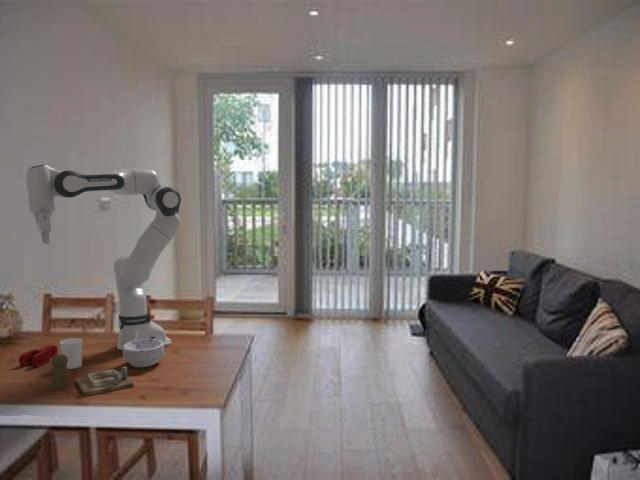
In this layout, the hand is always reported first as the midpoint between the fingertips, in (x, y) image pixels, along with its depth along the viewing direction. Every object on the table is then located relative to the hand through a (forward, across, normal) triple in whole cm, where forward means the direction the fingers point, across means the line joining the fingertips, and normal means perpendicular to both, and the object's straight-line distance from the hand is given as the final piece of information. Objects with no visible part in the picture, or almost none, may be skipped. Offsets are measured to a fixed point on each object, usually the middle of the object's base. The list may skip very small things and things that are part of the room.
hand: (46, 243), depth 215 cm
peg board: (+49, -33, -12) cm, 61 cm away
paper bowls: (+50, -18, -29) cm, 60 cm away
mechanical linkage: (+47, +5, +6) cm, 48 cm away
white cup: (+48, -8, -4) cm, 49 cm away
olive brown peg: (+49, -28, +2) cm, 56 cm away
